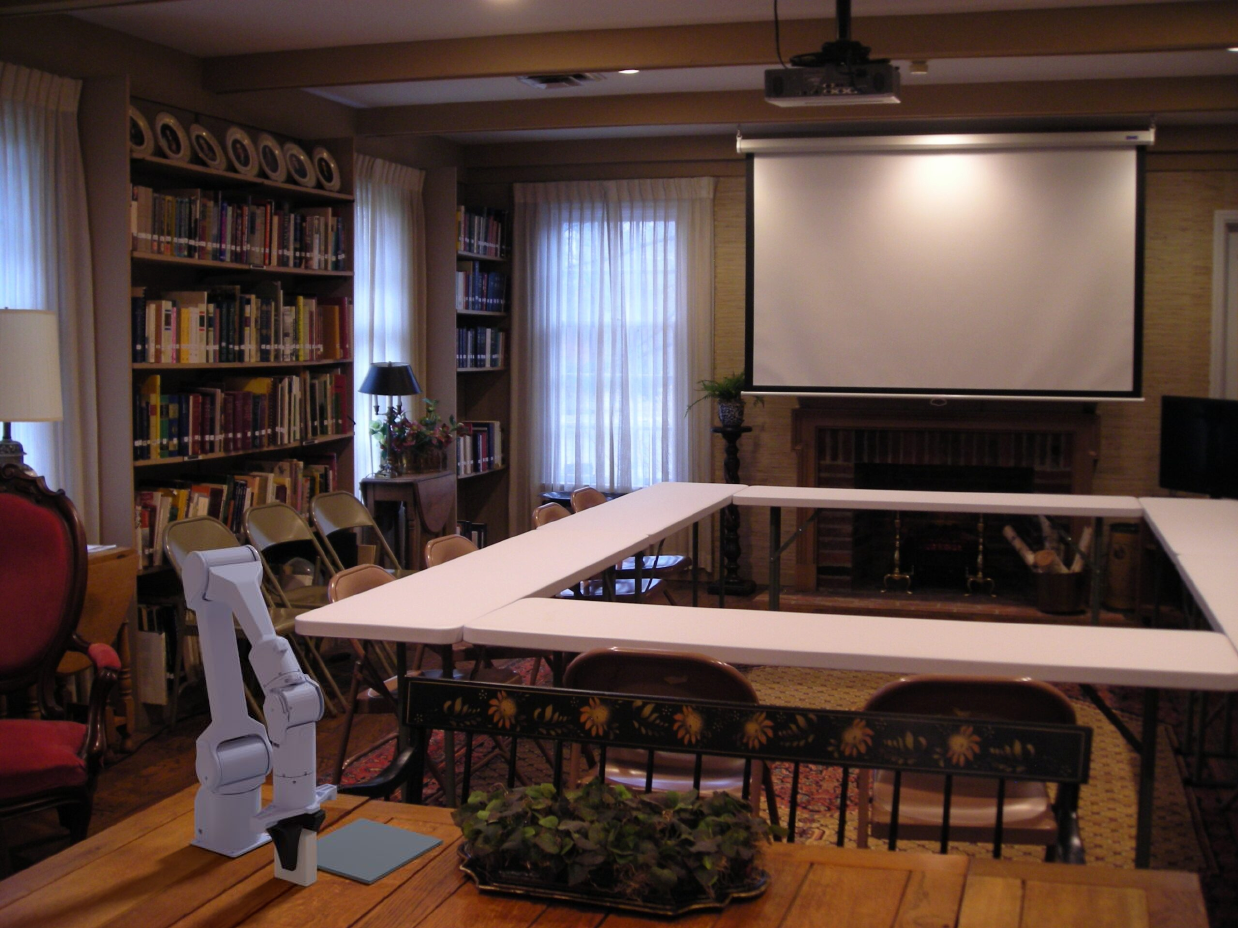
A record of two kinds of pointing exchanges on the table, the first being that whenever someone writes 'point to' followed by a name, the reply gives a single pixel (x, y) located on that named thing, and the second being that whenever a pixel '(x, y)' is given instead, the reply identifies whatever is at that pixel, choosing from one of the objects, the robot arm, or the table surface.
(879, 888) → the table surface
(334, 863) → the mat
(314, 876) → the block
